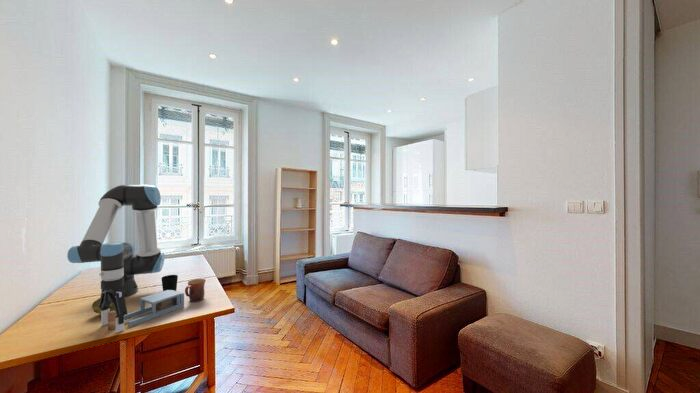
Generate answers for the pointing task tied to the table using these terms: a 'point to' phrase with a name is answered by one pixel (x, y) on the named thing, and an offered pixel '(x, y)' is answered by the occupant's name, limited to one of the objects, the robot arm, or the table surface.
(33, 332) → the table surface
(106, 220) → the robot arm
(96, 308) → the dirty green tuber
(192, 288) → the mug
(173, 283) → the cup
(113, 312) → the wooden mallet
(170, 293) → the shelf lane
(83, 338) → the table surface
